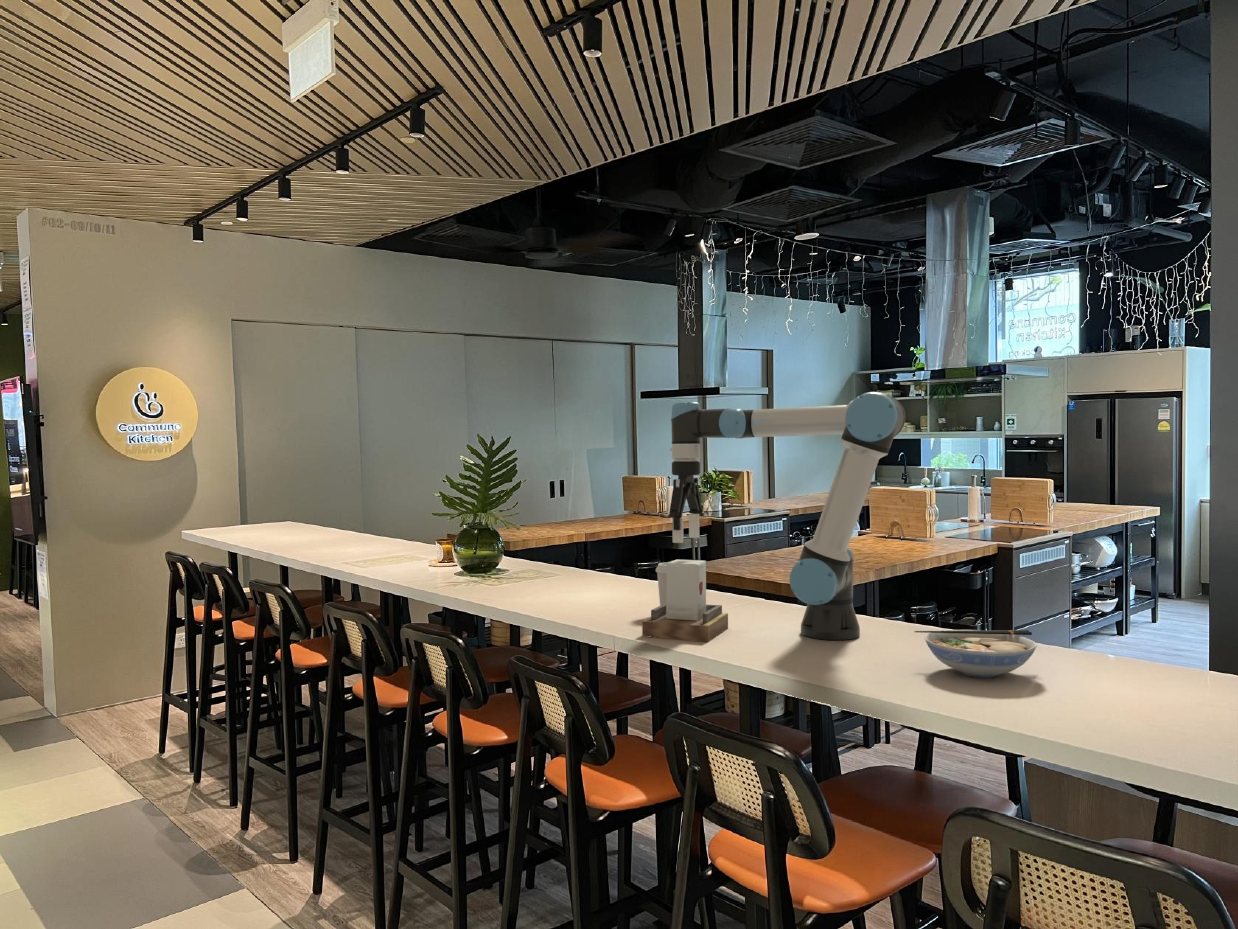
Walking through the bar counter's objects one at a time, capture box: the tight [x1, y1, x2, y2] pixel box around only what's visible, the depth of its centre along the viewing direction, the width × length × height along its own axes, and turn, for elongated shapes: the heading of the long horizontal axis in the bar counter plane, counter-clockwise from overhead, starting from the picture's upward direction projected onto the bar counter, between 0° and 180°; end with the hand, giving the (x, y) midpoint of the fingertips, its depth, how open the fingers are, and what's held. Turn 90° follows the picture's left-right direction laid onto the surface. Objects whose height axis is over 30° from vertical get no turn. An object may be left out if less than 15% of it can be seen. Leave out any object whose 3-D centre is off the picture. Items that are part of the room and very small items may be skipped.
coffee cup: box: [655, 561, 670, 606], centre depth 265 cm, size 10×10×15 cm
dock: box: [641, 603, 729, 643], centre depth 240 cm, size 18×18×6 cm
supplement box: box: [666, 559, 707, 621], centre depth 240 cm, size 9×9×15 cm
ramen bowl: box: [914, 629, 1038, 679], centre depth 195 cm, size 25×23×8 cm
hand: (686, 540), depth 239 cm, fingers open, 13 cm apart
